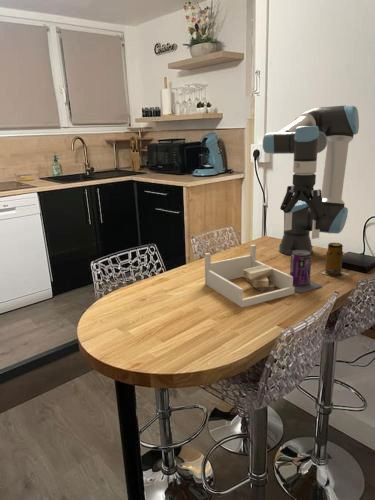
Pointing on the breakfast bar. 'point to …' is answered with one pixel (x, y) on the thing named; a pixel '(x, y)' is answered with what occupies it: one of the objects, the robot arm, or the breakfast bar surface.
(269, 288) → the offcut walnut
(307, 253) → the beverage can
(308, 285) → the coaster
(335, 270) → the condiment
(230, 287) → the frame
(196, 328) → the breakfast bar surface
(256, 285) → the offcut oak
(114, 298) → the breakfast bar surface
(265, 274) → the offcut birch
